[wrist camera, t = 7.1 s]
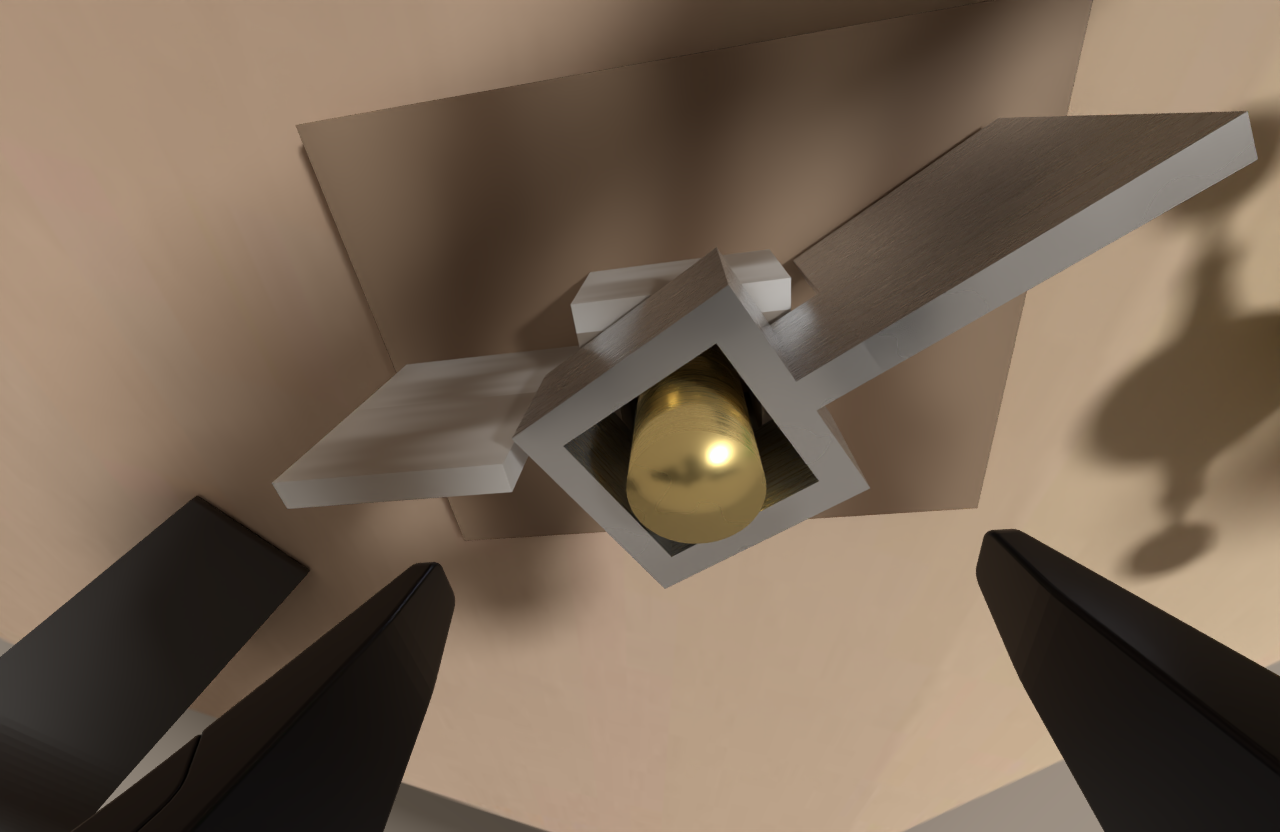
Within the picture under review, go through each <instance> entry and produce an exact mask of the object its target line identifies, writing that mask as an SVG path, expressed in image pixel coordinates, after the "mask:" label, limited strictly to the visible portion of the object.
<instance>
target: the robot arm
mask: <svg viewBox="0 0 1280 832" xmlns="http://www.w3.org/2000/svg"><path fill="white" fill-rule="evenodd" d="M976 577H977V581H978V584H979V587H980V589H981V591H982V594H983V596H984V598H985V601H986V603H987V605H988V608H989V610H990V612H991V615H992V617H993V619H994V622H995V624H996V626H997V629H998V631H999V633H1000V635H1001V638H1002V640H1003V642H1004V645H1005V647H1006V649H1007V652H1008V654H1009V656H1010V659H1011V661H1012V663H1013V666H1014V668H1015V670H1016V672H1017V674H1018V676H1019V679H1020V681H1021V682H1022V684H1023V686H1024V688H1025V690H1026V692H1027V694H1028V696H1029V698H1030V699H1031V701H1032V703H1033V705H1034V706H1035V708H1036V710H1037V712H1038V714H1039V715H1040V717H1041V719H1042V721H1043V723H1044V724H1045V726H1046V728H1047V730H1048V732H1049V733H1050V735H1051V737H1052V739H1053V741H1054V742H1055V744H1056V746H1057V748H1058V749H1059V751H1060V753H1061V755H1062V757H1063V758H1064V760H1065V762H1066V764H1067V766H1068V767H1069V769H1070V771H1071V773H1072V775H1073V776H1074V778H1075V780H1076V782H1077V784H1078V785H1079V787H1080V789H1081V791H1082V792H1083V794H1084V796H1085V798H1086V800H1087V801H1088V803H1089V805H1090V807H1091V809H1092V810H1093V812H1094V814H1095V815H1096V818H1097V819H1098V821H1099V823H1100V825H1101V827H1102V828H1103V830H1104V832H1280V676H1279V675H1277V674H1275V673H1273V672H1271V671H1270V670H1268V669H1266V668H1264V667H1263V666H1261V665H1259V664H1257V663H1256V662H1254V661H1252V660H1250V659H1248V658H1247V657H1245V656H1243V655H1241V654H1239V653H1238V652H1236V651H1234V650H1232V649H1231V648H1229V647H1227V646H1225V645H1223V644H1222V643H1220V642H1218V641H1216V640H1215V639H1213V638H1211V637H1209V636H1207V635H1206V634H1204V633H1202V632H1200V631H1199V630H1197V629H1195V628H1193V627H1191V626H1190V625H1188V624H1186V623H1184V622H1182V621H1181V620H1179V619H1177V618H1175V617H1174V616H1172V615H1170V614H1168V613H1166V612H1165V611H1163V610H1161V609H1159V608H1158V607H1156V606H1154V605H1152V604H1150V603H1149V602H1147V601H1145V600H1143V599H1142V598H1140V597H1138V596H1136V595H1134V594H1133V593H1131V592H1129V591H1127V590H1126V589H1124V588H1122V587H1120V586H1118V585H1117V584H1115V583H1113V582H1111V581H1109V580H1108V579H1106V578H1104V577H1102V576H1101V575H1099V574H1097V573H1095V572H1093V571H1092V570H1090V569H1088V568H1086V567H1085V566H1083V565H1081V564H1079V563H1077V562H1076V561H1074V560H1072V559H1070V558H1069V557H1067V556H1065V555H1063V554H1061V553H1060V552H1058V551H1056V550H1054V549H1053V548H1051V547H1049V546H1047V545H1045V544H1044V543H1042V542H1040V541H1038V540H1036V539H1035V538H1033V537H1031V536H1029V535H1028V534H1026V533H1024V532H1022V531H1020V530H1017V529H1003V530H991V531H988V532H987V533H986V534H985V535H984V538H983V542H982V546H981V550H980V554H979V558H978V562H977V566H976ZM454 607H455V596H454V592H453V590H452V588H451V586H450V584H449V581H448V579H447V577H446V575H445V572H444V570H443V568H442V566H441V565H440V564H439V563H436V562H426V563H417V564H414V565H412V566H411V567H409V568H408V569H407V570H406V571H404V572H403V573H402V574H401V575H399V576H398V577H397V578H396V579H394V580H393V581H392V582H390V583H389V584H388V585H387V586H385V587H384V588H383V589H382V590H380V591H379V592H378V593H377V594H375V595H374V596H373V597H371V598H370V599H369V600H368V601H366V602H365V603H364V604H363V605H361V606H360V607H359V608H358V609H356V610H355V611H354V612H353V613H351V614H350V615H349V616H347V617H346V618H345V619H344V620H342V621H341V622H340V623H339V624H337V625H336V626H335V627H334V628H332V629H331V630H330V631H329V632H327V633H326V634H325V635H323V636H322V637H321V638H320V639H318V640H317V641H316V642H315V643H313V644H312V645H311V646H310V647H308V648H307V649H306V650H304V651H303V652H302V653H301V654H299V655H298V656H297V657H296V658H294V659H293V660H292V661H291V662H289V663H288V664H287V665H285V666H284V667H283V668H282V669H280V670H279V671H278V672H277V673H275V674H274V675H273V676H272V677H270V678H269V679H268V680H266V681H265V682H264V683H263V684H261V685H260V686H259V687H258V688H256V689H255V690H254V691H253V692H251V693H250V694H249V695H248V696H246V697H245V698H244V699H242V700H241V701H240V702H239V703H237V704H236V705H235V706H234V707H232V708H231V709H230V710H229V711H227V712H226V713H225V714H223V715H222V716H221V717H220V718H218V719H217V720H216V721H215V722H213V723H212V724H211V725H210V726H208V727H207V728H206V729H205V730H204V731H203V732H202V735H197V736H195V737H194V738H193V739H192V740H191V741H189V742H188V743H187V744H186V745H184V746H183V747H182V748H181V749H179V750H178V751H177V752H175V753H174V754H173V755H171V756H170V757H169V758H168V759H166V760H165V761H164V762H162V763H161V764H160V765H159V766H157V767H156V768H155V769H153V770H152V771H151V772H150V773H148V774H147V775H146V776H144V777H143V778H142V779H140V780H139V781H138V782H137V783H135V784H134V785H133V786H132V787H130V788H129V789H127V790H126V791H125V792H124V793H122V794H121V795H120V796H118V797H117V798H115V799H114V800H113V801H111V802H110V803H109V804H107V805H106V806H105V807H103V808H102V809H101V810H99V811H98V812H96V813H95V814H94V815H92V816H91V817H90V818H88V819H87V820H86V821H84V822H83V823H81V824H80V825H79V826H77V827H76V828H75V829H73V830H72V831H70V832H383V831H384V829H385V826H386V823H387V820H388V817H389V814H390V812H391V809H392V806H393V803H394V801H395V798H396V795H397V792H398V790H399V787H400V784H401V781H402V778H403V776H404V773H405V770H406V767H407V764H408V762H409V759H410V756H411V753H412V750H413V748H414V745H415V742H416V739H417V736H418V734H419V731H420V728H421V725H422V722H423V720H424V717H425V714H426V711H427V708H428V705H429V702H430V699H431V696H432V693H433V690H434V686H435V683H436V679H437V675H438V671H439V667H440V663H441V659H442V655H443V651H444V647H445V643H446V639H447V635H448V631H449V627H450V623H451V619H452V615H453V611H454Z"/></svg>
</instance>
